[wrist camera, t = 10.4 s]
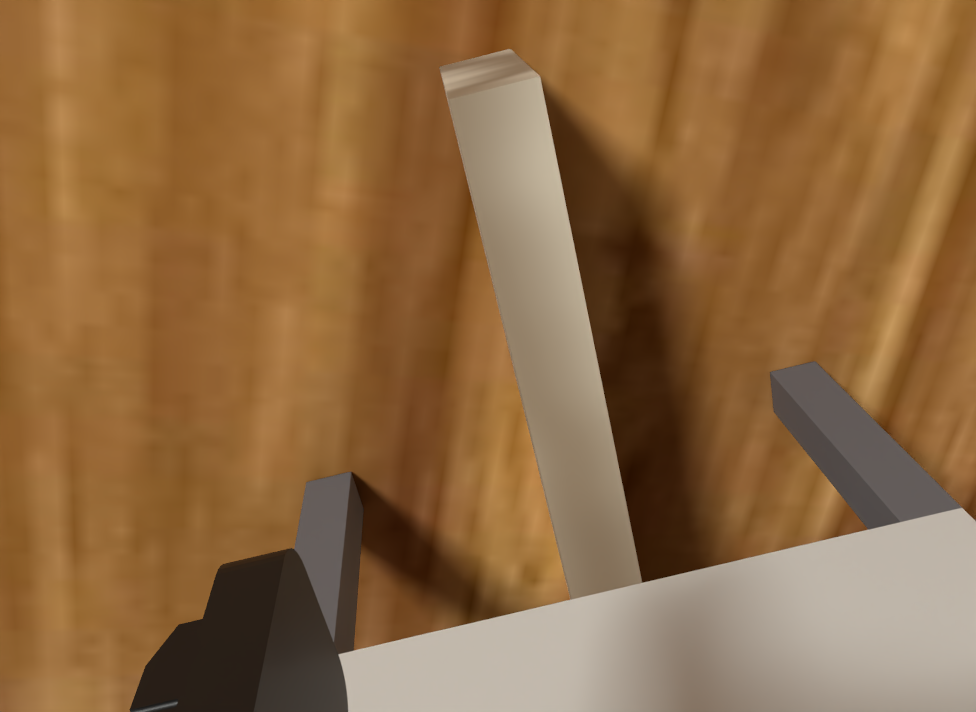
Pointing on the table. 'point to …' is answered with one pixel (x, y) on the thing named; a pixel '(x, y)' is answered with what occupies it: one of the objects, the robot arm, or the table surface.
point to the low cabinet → (706, 606)
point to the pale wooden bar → (543, 313)
